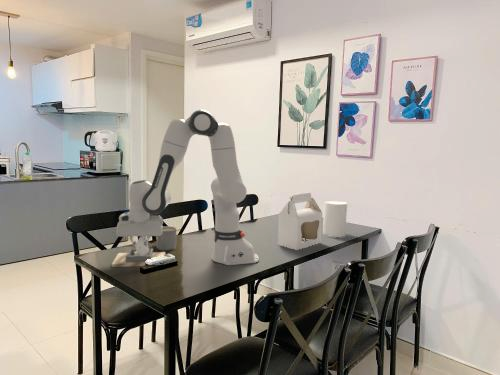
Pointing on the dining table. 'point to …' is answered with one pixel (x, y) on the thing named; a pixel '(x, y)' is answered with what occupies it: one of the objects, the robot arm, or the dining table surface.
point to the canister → (334, 218)
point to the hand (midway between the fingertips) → (140, 245)
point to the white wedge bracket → (141, 247)
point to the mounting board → (121, 262)
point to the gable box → (300, 223)
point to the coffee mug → (167, 239)
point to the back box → (137, 258)
